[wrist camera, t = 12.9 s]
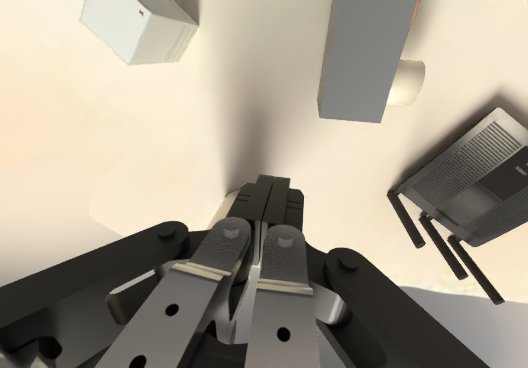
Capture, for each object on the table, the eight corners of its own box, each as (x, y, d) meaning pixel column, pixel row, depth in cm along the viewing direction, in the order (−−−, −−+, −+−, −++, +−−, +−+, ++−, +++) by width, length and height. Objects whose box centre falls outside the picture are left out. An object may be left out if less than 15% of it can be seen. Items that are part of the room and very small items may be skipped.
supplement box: (162, -13, 35) (95, -45, 24) (200, 26, 36) (154, 13, 26) (142, 30, 38) (76, 20, 27) (178, 64, 40) (128, 67, 29)
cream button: (362, 98, 32) (370, 105, 28) (372, 58, 30) (382, 59, 26) (399, 101, 32) (413, 108, 27) (413, 60, 29) (430, 61, 25)
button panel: (317, 100, 39) (319, 117, 27) (348, -103, 27) (374, -213, 16) (360, 103, 38) (380, 123, 26) (411, -105, 26) (484, -224, 15)
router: (572, 179, 38) (704, 242, 25) (454, 245, 48) (506, 313, 35) (487, 102, 35) (589, 129, 22) (381, 190, 45) (408, 243, 32)
